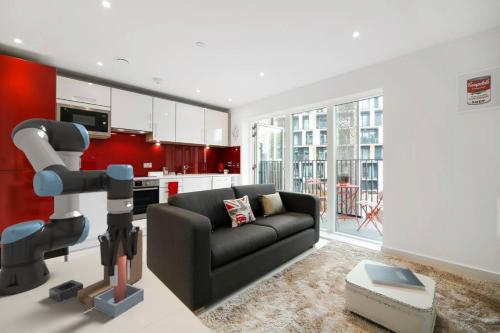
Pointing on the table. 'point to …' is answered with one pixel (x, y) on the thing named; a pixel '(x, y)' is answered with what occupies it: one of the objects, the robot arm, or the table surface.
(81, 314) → the table surface
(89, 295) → the cardboard box
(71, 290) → the socket
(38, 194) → the robot arm
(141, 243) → the wooden block
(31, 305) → the table surface
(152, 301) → the table surface
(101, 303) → the tray
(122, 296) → the dowel
